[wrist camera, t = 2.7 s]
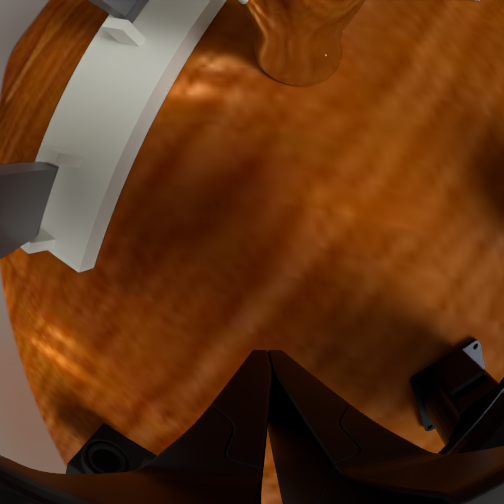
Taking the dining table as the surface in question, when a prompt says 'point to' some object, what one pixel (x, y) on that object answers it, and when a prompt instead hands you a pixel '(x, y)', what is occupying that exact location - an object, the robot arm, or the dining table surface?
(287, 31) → the beer glass
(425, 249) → the dining table surface
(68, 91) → the switch console
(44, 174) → the red-capped switch paddle
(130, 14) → the grey lever
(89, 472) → the digital camera
